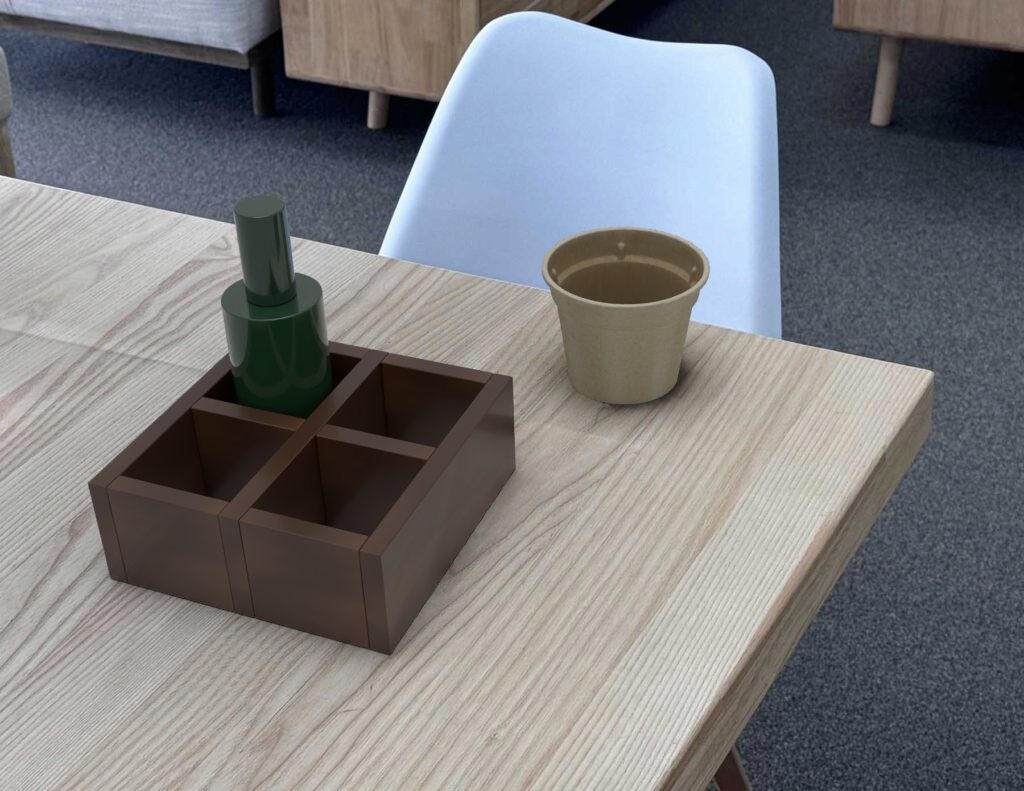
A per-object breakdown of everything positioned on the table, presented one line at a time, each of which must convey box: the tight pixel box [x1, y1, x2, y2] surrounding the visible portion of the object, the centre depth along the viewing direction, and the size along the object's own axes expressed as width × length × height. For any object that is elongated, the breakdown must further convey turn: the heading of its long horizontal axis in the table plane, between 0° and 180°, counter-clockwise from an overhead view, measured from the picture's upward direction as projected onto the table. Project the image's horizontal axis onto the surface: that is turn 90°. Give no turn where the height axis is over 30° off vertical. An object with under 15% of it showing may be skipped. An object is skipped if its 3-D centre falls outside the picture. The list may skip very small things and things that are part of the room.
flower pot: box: [541, 226, 711, 405], centre depth 81 cm, size 9×9×9 cm
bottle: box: [220, 194, 334, 420], centre depth 73 cm, size 5×5×16 cm
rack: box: [87, 340, 517, 655], centre depth 72 cm, size 16×16×6 cm
